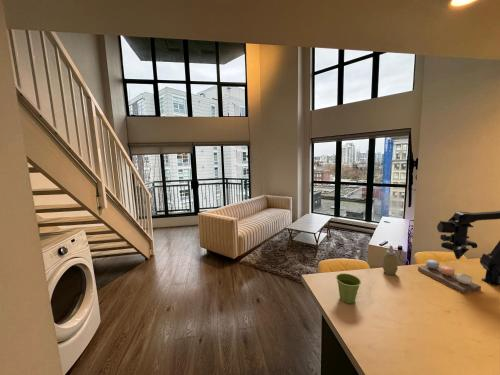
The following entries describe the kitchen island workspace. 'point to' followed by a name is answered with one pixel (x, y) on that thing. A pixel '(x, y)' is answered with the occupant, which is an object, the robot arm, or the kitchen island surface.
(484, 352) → the kitchen island surface
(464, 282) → the cream white rounded ball
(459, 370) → the kitchen island surface
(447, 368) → the kitchen island surface
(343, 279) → the plant pot
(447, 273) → the peach rounded lump
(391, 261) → the squeeze bottle
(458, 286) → the button board
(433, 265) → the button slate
